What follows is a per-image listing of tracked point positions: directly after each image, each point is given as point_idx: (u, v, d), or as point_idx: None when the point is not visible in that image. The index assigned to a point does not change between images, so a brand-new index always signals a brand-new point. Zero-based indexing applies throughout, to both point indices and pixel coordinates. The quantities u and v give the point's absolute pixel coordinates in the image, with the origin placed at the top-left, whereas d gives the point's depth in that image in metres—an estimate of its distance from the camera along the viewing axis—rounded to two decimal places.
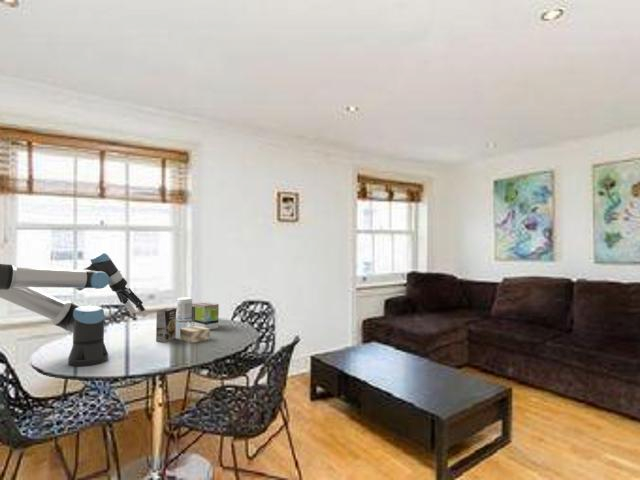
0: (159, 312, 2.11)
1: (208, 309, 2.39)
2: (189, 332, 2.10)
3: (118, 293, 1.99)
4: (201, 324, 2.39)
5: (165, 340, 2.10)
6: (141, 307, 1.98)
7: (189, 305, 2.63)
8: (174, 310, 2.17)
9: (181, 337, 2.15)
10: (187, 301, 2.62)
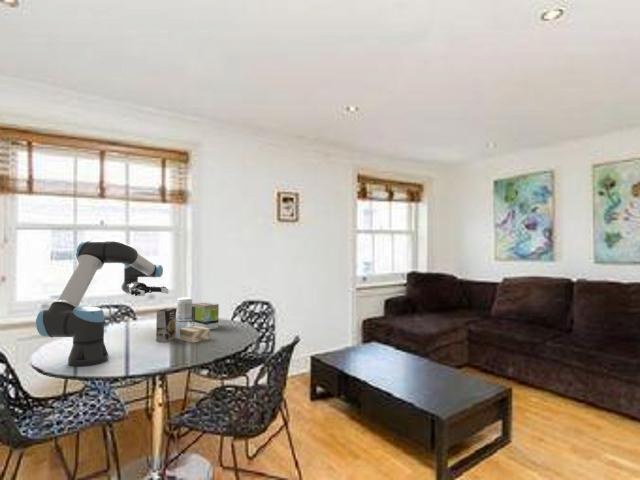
0: (159, 312, 2.11)
1: (208, 309, 2.39)
2: (190, 332, 2.10)
3: (140, 286, 2.30)
4: (201, 324, 2.39)
5: (165, 340, 2.10)
6: None
7: (189, 305, 2.63)
8: (174, 310, 2.17)
9: (181, 337, 2.14)
10: (187, 301, 2.62)
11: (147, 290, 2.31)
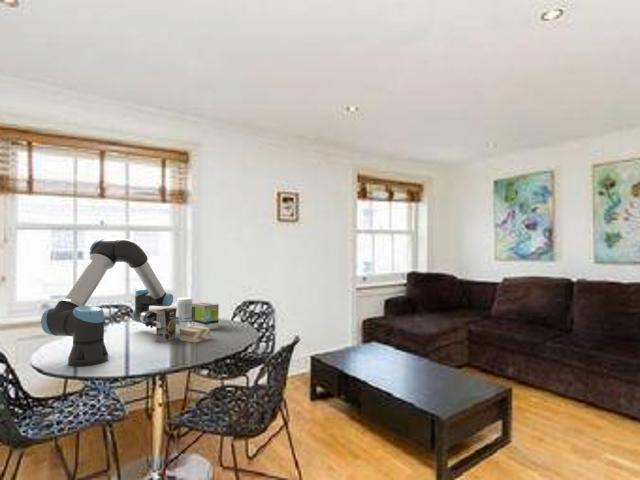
0: (159, 312, 2.11)
1: (208, 309, 2.39)
2: (191, 332, 2.10)
3: (152, 316, 2.21)
4: (201, 324, 2.39)
5: (165, 340, 2.10)
6: None
7: (189, 305, 2.63)
8: (174, 310, 2.17)
9: (181, 337, 2.14)
10: (187, 301, 2.62)
11: None
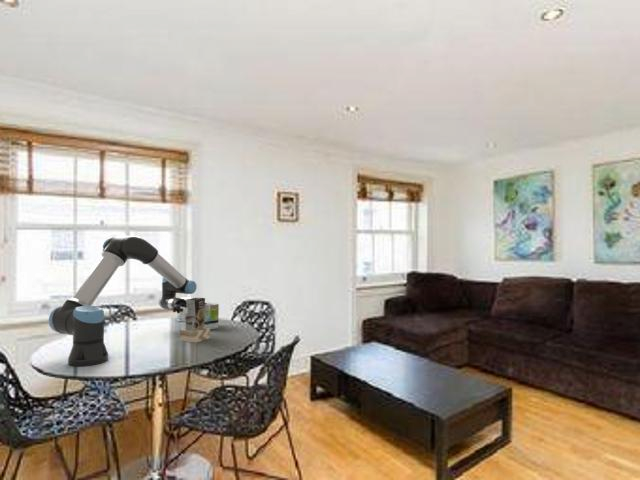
0: (189, 301, 2.13)
1: None
2: (193, 332, 2.10)
3: (180, 302, 2.23)
4: None
5: (195, 329, 2.12)
6: None
7: None
8: (203, 299, 2.19)
9: (182, 338, 2.13)
10: None
11: None
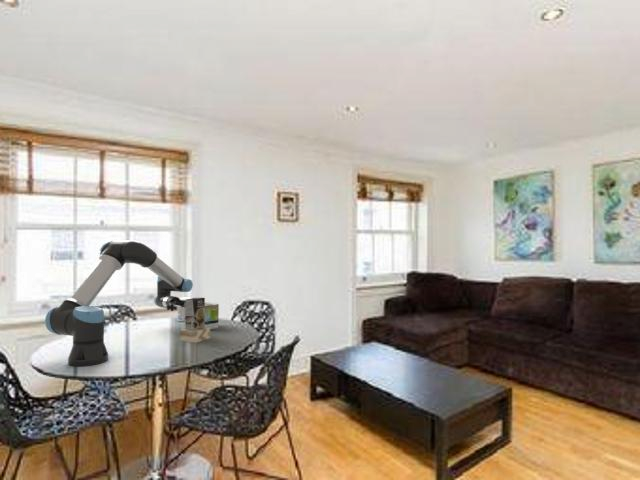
0: (187, 300, 2.13)
1: (208, 309, 2.39)
2: (193, 332, 2.10)
3: (175, 300, 2.28)
4: None
5: (193, 328, 2.11)
6: None
7: None
8: (202, 299, 2.18)
9: (182, 338, 2.13)
10: None
11: (182, 304, 2.28)
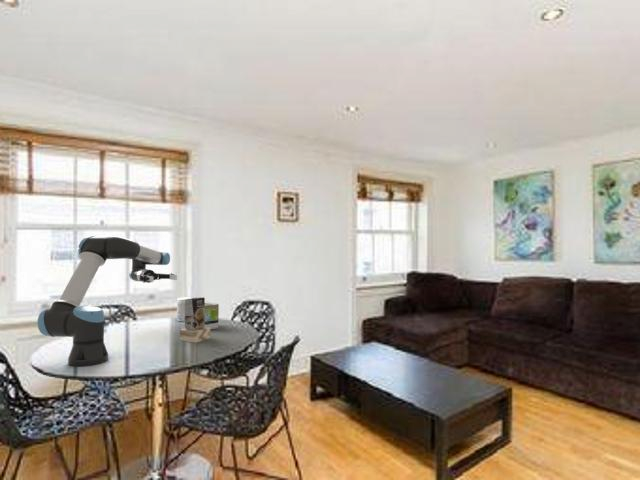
0: (187, 300, 2.13)
1: (208, 309, 2.39)
2: (193, 332, 2.10)
3: (149, 273, 2.30)
4: None
5: (193, 328, 2.11)
6: None
7: None
8: (202, 299, 2.18)
9: (182, 338, 2.13)
10: None
11: (155, 277, 2.30)
